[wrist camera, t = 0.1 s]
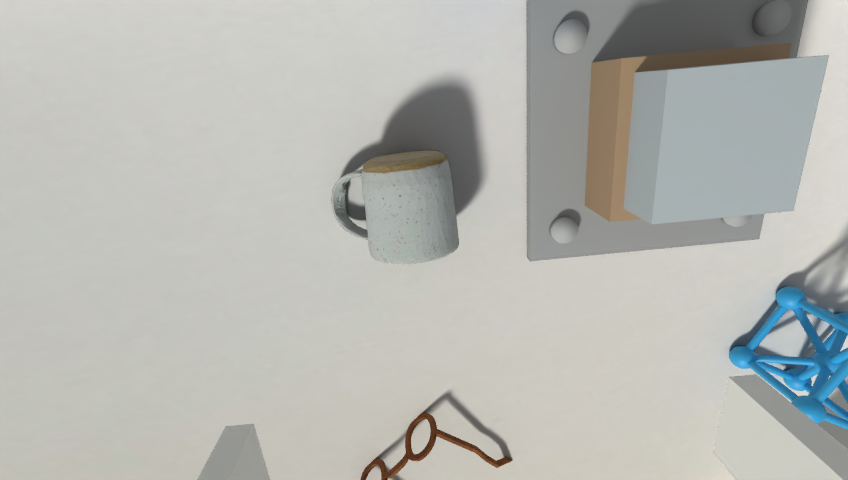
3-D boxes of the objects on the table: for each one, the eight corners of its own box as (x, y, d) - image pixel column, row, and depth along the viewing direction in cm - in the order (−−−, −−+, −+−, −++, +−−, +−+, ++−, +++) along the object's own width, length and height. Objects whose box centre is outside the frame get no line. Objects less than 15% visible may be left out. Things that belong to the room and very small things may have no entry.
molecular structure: (719, 355, 45) (801, 425, 36) (780, 279, 42) (886, 333, 33) (789, 383, 47) (884, 457, 38) (851, 312, 44) (972, 372, 35)
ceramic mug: (445, 142, 36) (452, 156, 29) (455, 230, 39) (464, 262, 32) (325, 158, 37) (304, 176, 29) (344, 244, 39) (328, 279, 32)
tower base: (526, 0, 33) (575, -35, 23) (802, -25, 33) (959, -70, 24) (527, 257, 40) (563, 308, 31) (750, 235, 41) (855, 279, 31)
